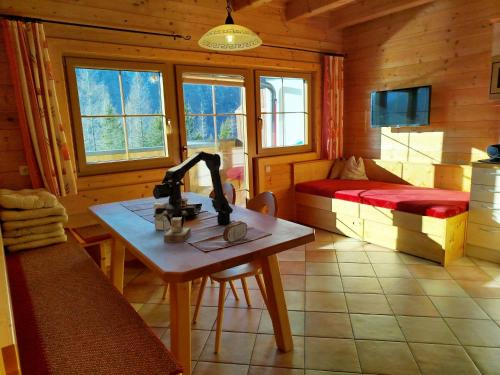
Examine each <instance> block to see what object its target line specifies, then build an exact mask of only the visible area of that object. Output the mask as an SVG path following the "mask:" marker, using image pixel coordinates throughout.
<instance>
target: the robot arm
mask: <svg viewBox="0 0 500 375" xmlns="http://www.w3.org/2000/svg"><path fill="white" fill-rule="evenodd" d="M221 159H222V158H221V156H220V154H218V153H213V152H211V153H210V152H209V153H208V152H205V151H200V150H197V151H195V152H194V153H193V154H192V155H191V156H190V157H188V158H187V159H185V160H184V161H183V162H181V163H180V164H179V165H176V166H173V167H171V168H168V169H167V170H166V172H165V175H164V177H163V179H162V181H161V183H155V184H154V187H153V189H152V194H153V198H154V199H156V200H159V199H160V200H162V199H166V198H168V205H167V207H166V206H159V207H157V208H156V210H155V213H156V214H162V213H163V216H165V217H167V219H168V221H169V223H170V226H171V219H172V218H173V215H177V214H178V213H179V212H182V213H181V214H180V215H181V217H182V227H183V228H184V225H185V221H186V218H187V216H188V215H189V214H190V215H193V214H195V213H196V212H197V206H196V205H187V206H186V207H183V204H182V199H183V197H182V190H181V189H182V188H181V186H185V183H184V182H183V181H182V180H183V178H184V177H185V175H186V173H187V172H188V171H190V169H192V168H193V167H195V166H196V165H197V164H198V163H200V162H201V161H203V162H204V164H205V166H206V168H207V169H208V170H209V173H210V178H211V184H212V189H213V195H214V197H213V199H211V203H212V204H211V205H212V206H211V207H212V208H213V209H214V211H215V213H217V216H216V222H217V225H218V226H227V225H229V224H232V221H231V214H232V213H233V210H234V208H232V207H231V205H230V204H229V203H230V202H229V201H228V199H227V197H226V195H225V194H224V190H223V189H224V188H223V185H222V184H223V183H222V178H221V174H220V173H221V172H220V167H221V165H222V161H221Z"/></svg>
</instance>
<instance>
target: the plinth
mask: <svg viewBox="0 0 500 375" xmlns="http://www.w3.org/2000/svg"><path fill="white" fill-rule="evenodd" d="M191 233H192V232H191V228H190V227H183V230H182V231H181V232H172V231H171V228H169V229H168V231H167V232H166V233H165V234H164V235H163V241H164V242H163V243H185V242H186V241H187V239H188V238H189V237H190V236H191Z"/></svg>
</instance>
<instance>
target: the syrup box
mask: <svg viewBox="0 0 500 375" xmlns="http://www.w3.org/2000/svg"><path fill="white" fill-rule="evenodd" d="M168 203H169V201H156V202H155V203H153V212H154V213H153V214H154V223H155V224H154V225H155V230H156V231H166V230H170V229H171V225H170V223H169V221H168V219H167V217H165V216H163V213H162V214H156V213H155V210H156V208H157V207H159V206H166V207H167V205H168Z"/></svg>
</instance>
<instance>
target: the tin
mask: <svg viewBox="0 0 500 375" xmlns="http://www.w3.org/2000/svg"><path fill="white" fill-rule="evenodd" d="M247 233H248V224H247V223H246V222H244V221H241V220H238V221H236V222H233V223H232V222H231V223H230V224H229V225H225V227H224V230H223V232H222V238H223V240H224V241H225V242H227V243H231V244H232V243H234V242H237V241H239V240H242V239H244V238H245V237H246V235H247Z"/></svg>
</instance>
